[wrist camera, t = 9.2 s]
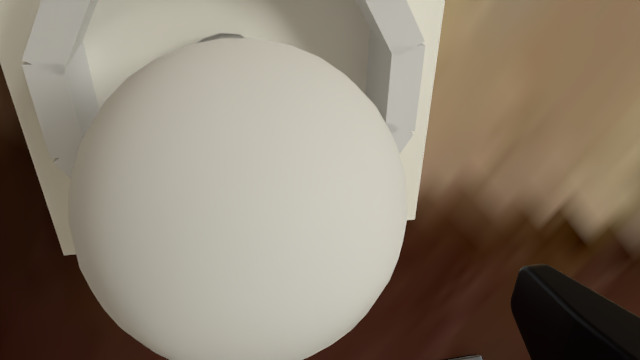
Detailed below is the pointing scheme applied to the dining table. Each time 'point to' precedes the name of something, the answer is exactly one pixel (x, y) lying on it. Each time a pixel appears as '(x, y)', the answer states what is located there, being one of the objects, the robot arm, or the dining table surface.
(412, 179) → the socket base
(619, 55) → the dining table surface
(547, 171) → the dining table surface
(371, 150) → the light bulb
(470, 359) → the retail box
